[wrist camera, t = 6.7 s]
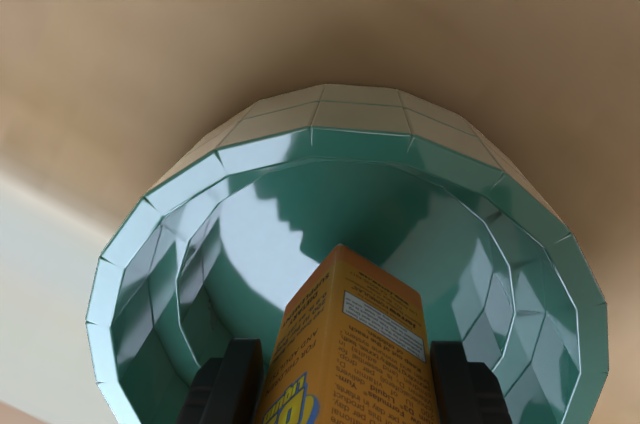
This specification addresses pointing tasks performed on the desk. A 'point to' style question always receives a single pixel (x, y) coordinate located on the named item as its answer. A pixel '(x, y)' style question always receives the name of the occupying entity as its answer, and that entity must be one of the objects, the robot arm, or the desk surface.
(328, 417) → the supplement box
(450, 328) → the green bowl
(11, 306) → the desk surface
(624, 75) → the desk surface
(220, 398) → the robot arm
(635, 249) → the desk surface
